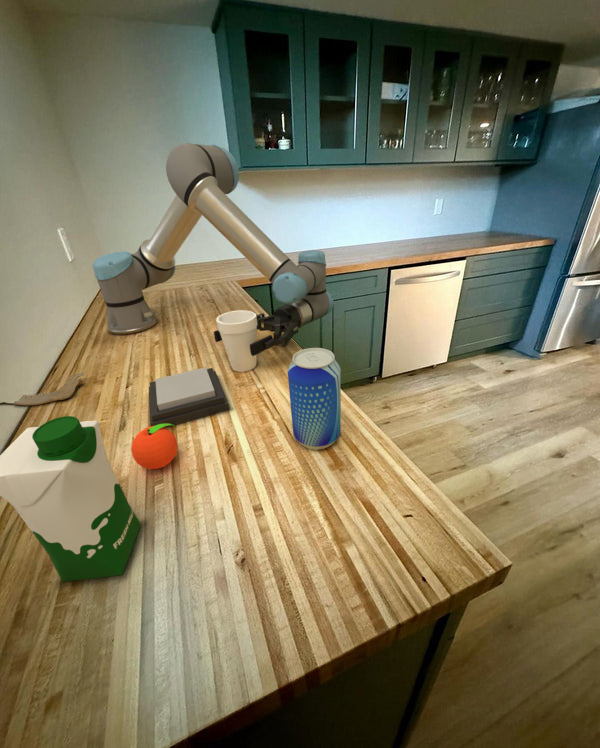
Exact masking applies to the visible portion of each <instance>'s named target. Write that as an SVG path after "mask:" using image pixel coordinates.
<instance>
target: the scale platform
mask: <svg viewBox="0 0 600 748" xmlns="http://www.w3.org/2000/svg"><path fill="white" fill-rule="evenodd" d="M207 369H208V368H207V367H201V368H197V369H192V370H188V371H183V372H179V373H175V374H171V375H167V376H162V377H158V378H157V377H156V378H155V380H154V381H156V395H157V406H158V409H159V411H161V410H164V409H168V408H172V407H176V406H180V405H184V404H187V403H191V402H195V401H199V400H203V399H207V398H210V397H214V396H216V395H215V391H214V388H213V385H212V382H211V380H210V377H209V374H208V371H207Z"/></svg>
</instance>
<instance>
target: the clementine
mask: <svg viewBox="0 0 600 748" xmlns="http://www.w3.org/2000/svg"><path fill="white" fill-rule="evenodd" d="M168 425H172V424H167V423H165V424H158V425H155V426H151V425H150V426H147V427H145V428H143V429H142V430H140V431H139V432H138V433H137V434H136V435H135V437H134V438H133V440H132V443H131V449H130V450H131V455H132V458H133V460H134V461H135V462H136V464H137V465H139V466H140V467H142V468H144V469H147V470H157V469H161V468H164V467H165V466H167V465H168V464H170V463H171V462H172V461H173V459H174V458H175V456H176V454H177V453H178V441H177V437H176V436H175V434H174V432H172V431H171V430H170V429H169V428H168V427H165V426H168ZM164 427H165V428H164ZM172 427H175V428H176V429H178V427H177V426H176V425H173V426H172Z"/></svg>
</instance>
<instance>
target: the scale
mask: <svg viewBox="0 0 600 748" xmlns="http://www.w3.org/2000/svg"><path fill="white" fill-rule="evenodd" d="M206 369H207V371H208V374H209V377H210V380H211V382H212V385H213V388H214V391H215V395H216V396H214V397H210V398H207V399H203V400H199V401H195V402H191V403H187V404H184V405H180V406H176V407H172V408H168V409H164V410H161V411H159V409H158V406H157V395H156V381H155V380H154V381H150V382H149V386H148V400H149V425H150V427H151V426H155V425H158V424H165V423H167V424H172V425H168V426H165V427H164V428H168V427H174V426H173V425H175V426H176V425H180V424H183V423H187V422H191V421H193V420H197V419H201V418H205V417H208V416H212V415H215V414H216V415H217V414H219V413H224V412H226V411H230V404H229V401H228V398H227V397H226V394H225V391H224V389H223V386H222V383H221V382H220V379H219V377H218V374H217V372H216V370H214V369H213V367H210V368H206Z"/></svg>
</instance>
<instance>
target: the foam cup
mask: <svg viewBox="0 0 600 748" xmlns="http://www.w3.org/2000/svg"><path fill="white" fill-rule="evenodd" d="M256 315H257V314H256V312H254V311H252V310H245V309H243V310H242V309H239V310H238V309H237V310H232V311H226V312H224V313H221V314H219V315H218V316H217V317H216V318H215V321H216V327H217V330H218V331H219V332H220V335H221V338H222V340H221V342H222V344H223V347H224V349H225V352H226V355H227V358H228V362H229V363H230V367H231V369H232V370H233V371H235V372H248V371H251V370H253V369H254V368H256V366H257V362H258V361H257V359H258V358H257V356H258V354H257V355H255V356H252V355H251V351H250V344H252V343H254V342H256V341H258V330H257V325H258V324H257V317H256Z"/></svg>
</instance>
